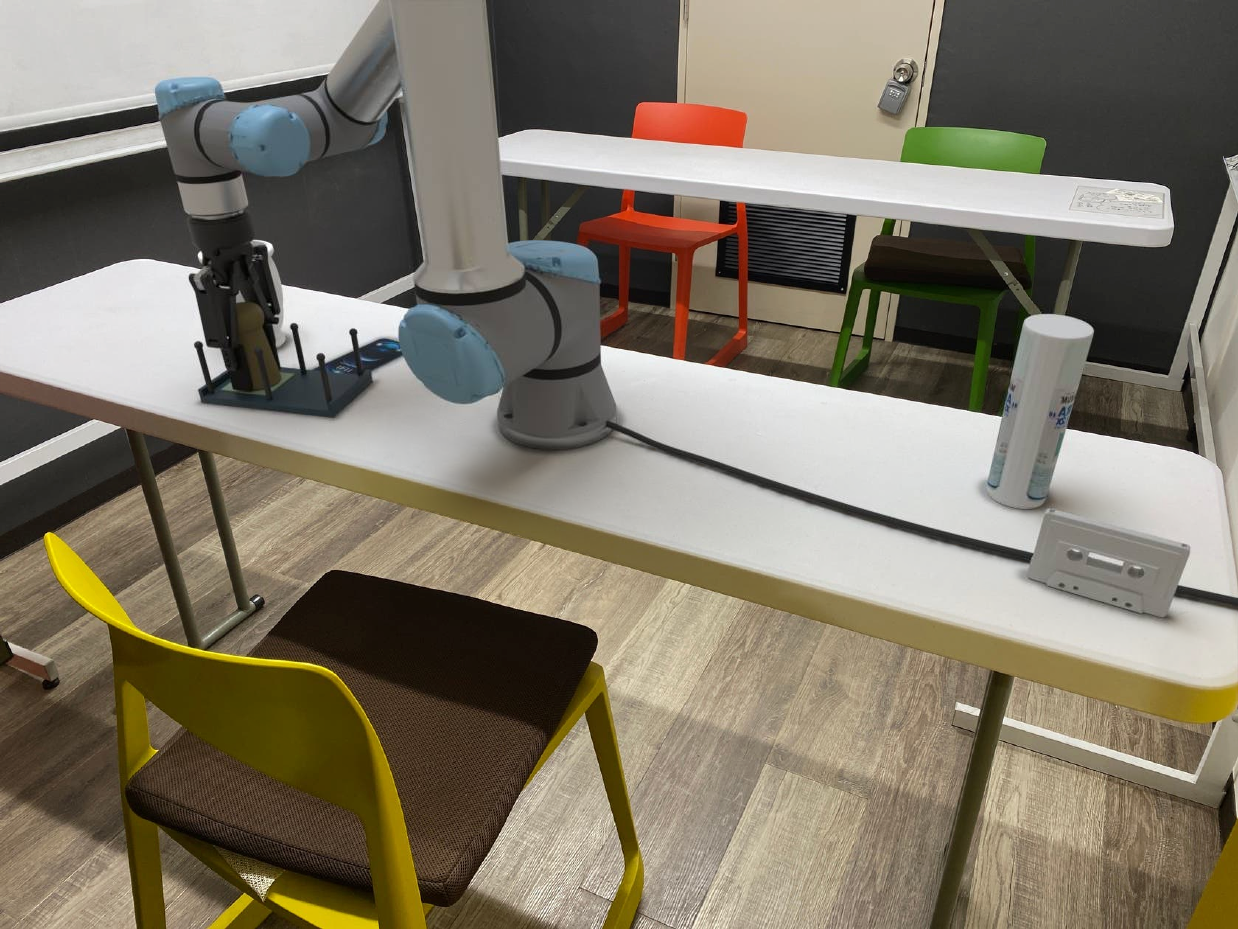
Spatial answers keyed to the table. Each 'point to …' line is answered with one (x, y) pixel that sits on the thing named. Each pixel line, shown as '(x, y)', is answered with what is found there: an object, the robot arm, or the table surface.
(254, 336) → the cork
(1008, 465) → the spray can
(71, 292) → the table surface
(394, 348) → the smartphone
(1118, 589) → the cassette
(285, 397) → the drying rack
